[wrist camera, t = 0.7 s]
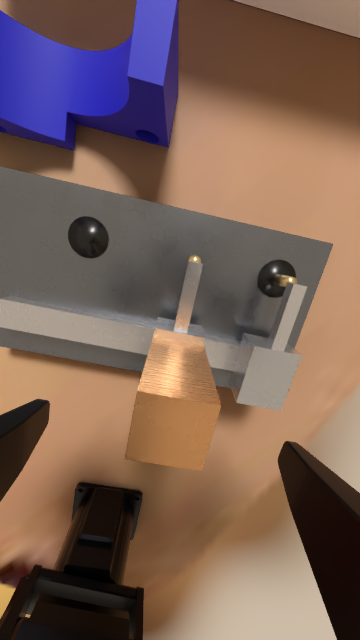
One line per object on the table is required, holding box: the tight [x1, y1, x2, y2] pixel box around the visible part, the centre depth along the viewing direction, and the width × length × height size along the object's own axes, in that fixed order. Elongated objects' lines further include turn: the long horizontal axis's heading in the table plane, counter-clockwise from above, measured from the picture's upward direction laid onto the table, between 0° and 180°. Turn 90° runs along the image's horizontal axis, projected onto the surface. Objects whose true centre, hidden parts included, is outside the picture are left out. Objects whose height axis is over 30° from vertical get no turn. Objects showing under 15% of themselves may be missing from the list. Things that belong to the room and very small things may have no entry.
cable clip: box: [0, 0, 178, 150], centre depth 12 cm, size 12×4×6 cm, turn 78°
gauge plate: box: [0, 166, 333, 411], centre depth 15 cm, size 12×22×5 cm, turn 78°
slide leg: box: [125, 255, 221, 471], centre depth 12 cm, size 8×3×9 cm, turn 168°
